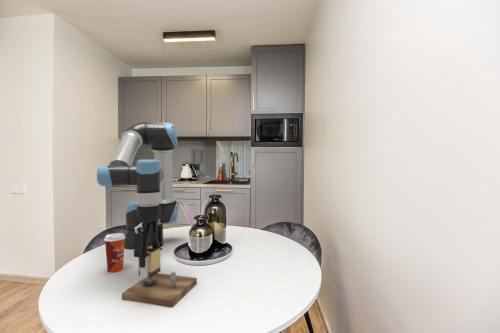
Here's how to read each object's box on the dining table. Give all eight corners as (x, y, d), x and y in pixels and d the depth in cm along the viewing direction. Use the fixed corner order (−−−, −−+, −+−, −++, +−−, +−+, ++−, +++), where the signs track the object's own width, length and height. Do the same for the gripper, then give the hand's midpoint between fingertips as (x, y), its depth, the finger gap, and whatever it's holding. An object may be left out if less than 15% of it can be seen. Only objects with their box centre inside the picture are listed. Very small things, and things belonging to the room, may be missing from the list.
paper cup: (117, 274, 102) (116, 238, 102) (100, 272, 104) (99, 237, 104) (130, 266, 110) (129, 233, 110) (114, 264, 111) (113, 232, 111)
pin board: (153, 277, 99) (153, 259, 98) (196, 283, 94) (196, 264, 94) (121, 299, 83) (121, 277, 83) (171, 307, 78) (171, 284, 78)
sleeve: (148, 269, 93) (147, 247, 92) (160, 271, 91) (160, 248, 91) (138, 275, 88) (138, 251, 88) (151, 277, 86) (151, 253, 86)
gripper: (155, 200, 99) (156, 262, 99) (119, 208, 81) (121, 283, 82) (173, 201, 97) (174, 263, 97) (140, 209, 79) (141, 285, 80)
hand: (149, 272), depth 89 cm, fingers closed on sleeve, 5 cm apart
